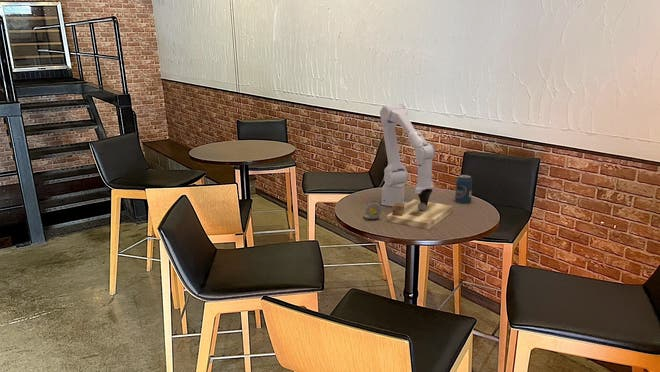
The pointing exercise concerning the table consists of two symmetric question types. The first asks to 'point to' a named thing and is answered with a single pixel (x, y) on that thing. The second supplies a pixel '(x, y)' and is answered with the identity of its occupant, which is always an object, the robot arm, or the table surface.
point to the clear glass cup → (373, 210)
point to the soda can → (463, 189)
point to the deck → (421, 214)
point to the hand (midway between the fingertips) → (423, 206)
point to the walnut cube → (398, 209)
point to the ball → (421, 206)
